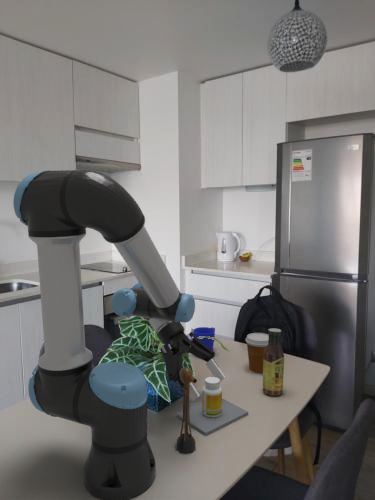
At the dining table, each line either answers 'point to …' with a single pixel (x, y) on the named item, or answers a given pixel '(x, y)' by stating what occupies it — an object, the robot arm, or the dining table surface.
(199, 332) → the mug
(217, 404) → the supplement bottle
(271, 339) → the sauce bottle
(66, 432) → the dining table surface
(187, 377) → the wooden tabletop sculpture
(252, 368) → the disposable coffee cup
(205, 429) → the mat
